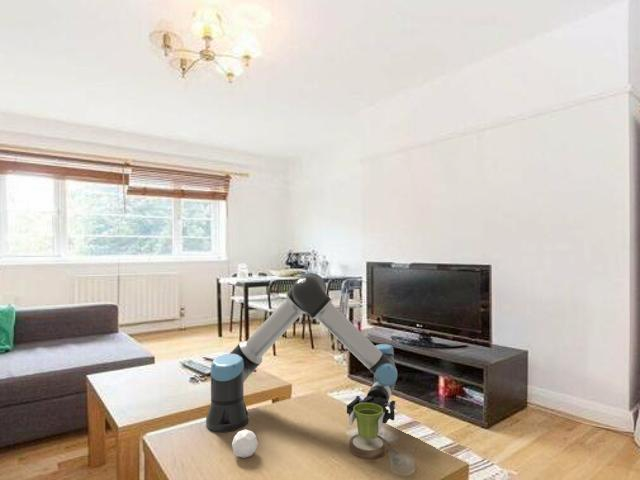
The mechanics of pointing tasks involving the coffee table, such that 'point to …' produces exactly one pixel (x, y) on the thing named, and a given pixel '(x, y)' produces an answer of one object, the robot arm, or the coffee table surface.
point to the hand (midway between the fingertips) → (364, 423)
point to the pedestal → (367, 447)
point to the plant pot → (367, 419)
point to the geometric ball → (244, 443)
